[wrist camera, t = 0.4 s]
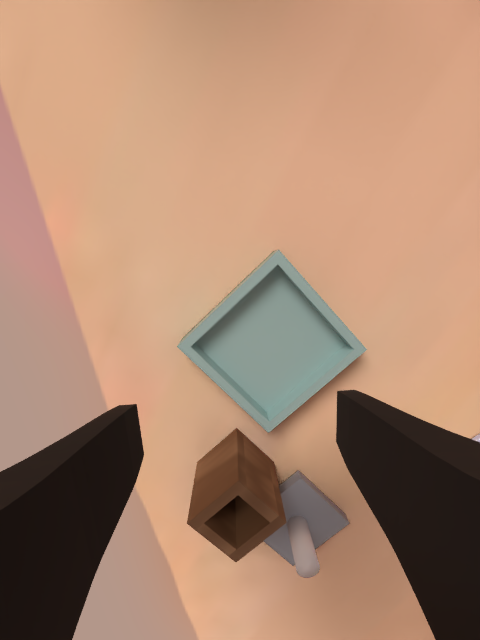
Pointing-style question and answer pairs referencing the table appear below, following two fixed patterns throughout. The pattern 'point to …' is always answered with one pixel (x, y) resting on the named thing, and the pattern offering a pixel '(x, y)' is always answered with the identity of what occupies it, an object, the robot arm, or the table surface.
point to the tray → (271, 342)
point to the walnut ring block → (236, 497)
